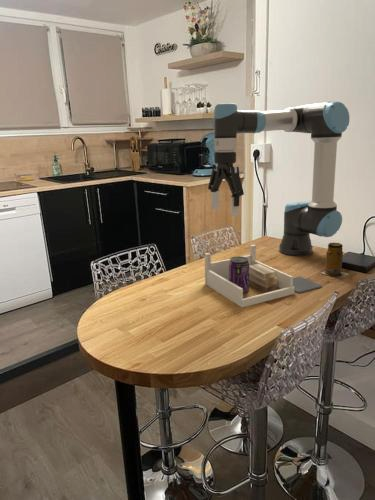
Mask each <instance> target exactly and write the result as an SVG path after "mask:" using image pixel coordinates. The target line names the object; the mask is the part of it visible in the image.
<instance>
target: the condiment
mask: <svg viewBox="0 0 375 500" xmlns="http://www.w3.org/2000/svg"><path fill="white" fill-rule="evenodd" d="M343 247H344V246H343V244H342V243H339V242H329V243H328V244H327V250H326V252H325V253H326V255H325V266H324V271H321V272H320V274H323V275H325V276H330V277H334V278H337V279H342V278H344V277H347V276H349V275H350V273H348V272H344V271H342V266H343V257H344V252H343Z"/></svg>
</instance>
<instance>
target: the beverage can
mask: <svg viewBox="0 0 375 500" xmlns="http://www.w3.org/2000/svg"><path fill="white" fill-rule="evenodd" d="M229 259H230V262H229V280H228V281H230V282H232V283H234V284H235V285H237V286H239V287H241V288H242V289H243V294H244V293H246V292H248V291H249V288H250V284H249V262H248V258H246V257H242V256H232V257H230V258H229Z"/></svg>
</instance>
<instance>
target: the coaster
mask: <svg viewBox="0 0 375 500" xmlns="http://www.w3.org/2000/svg"><path fill="white" fill-rule="evenodd" d="M293 287H295V289H294V293H297V294H301V293H305V292H309V291H313V290H316V289H317V290H318V289H320V288H322V287H323V286H322V284H320V283H317V282H314V281H312V280H310V279H308V278H305V277H303V276H297V277H293Z"/></svg>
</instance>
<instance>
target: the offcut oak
mask: <svg viewBox="0 0 375 500" xmlns="http://www.w3.org/2000/svg"><path fill="white" fill-rule="evenodd" d="M249 280H251V281H253V282H255V283H257V284H260V285H262V286H264V287H266V288H267V287H270V286H273V285H277V278H276V277H275V278H273V279H268V280H262V279H260V278H258V277H256V276H255V275H253V274H251V273H249Z"/></svg>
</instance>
